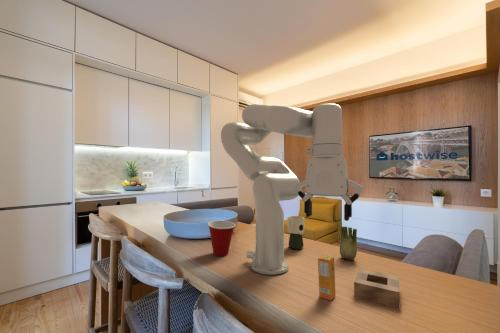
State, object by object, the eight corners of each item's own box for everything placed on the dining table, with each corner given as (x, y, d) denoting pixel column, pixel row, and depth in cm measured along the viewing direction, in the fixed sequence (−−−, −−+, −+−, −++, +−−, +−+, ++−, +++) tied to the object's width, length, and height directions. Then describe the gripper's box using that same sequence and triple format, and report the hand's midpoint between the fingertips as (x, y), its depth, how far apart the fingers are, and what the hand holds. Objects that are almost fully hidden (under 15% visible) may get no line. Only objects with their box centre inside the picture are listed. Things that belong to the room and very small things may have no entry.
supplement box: (322, 291, 64) (322, 254, 64) (335, 296, 62) (335, 257, 62) (317, 296, 61) (317, 257, 62) (330, 301, 59) (330, 260, 59)
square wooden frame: (354, 297, 62) (354, 281, 62) (359, 282, 70) (359, 268, 70) (399, 309, 57) (399, 292, 57) (399, 291, 65) (399, 276, 65)
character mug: (299, 253, 95) (300, 220, 95) (283, 250, 99) (283, 218, 99) (307, 246, 104) (308, 216, 105) (292, 243, 108) (292, 214, 108)
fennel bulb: (358, 261, 87) (358, 228, 87) (347, 262, 85) (347, 228, 86) (347, 255, 92) (347, 224, 93) (337, 257, 91) (337, 225, 91)
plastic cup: (221, 261, 86) (222, 227, 86) (201, 254, 92) (201, 223, 93) (240, 253, 94) (241, 222, 95) (221, 247, 101) (221, 219, 101)
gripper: (290, 152, 64) (290, 216, 63) (361, 149, 55) (362, 224, 54) (300, 154, 70) (300, 213, 70) (364, 152, 61) (365, 219, 61)
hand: (327, 217), depth 62 cm, fingers open, 9 cm apart
